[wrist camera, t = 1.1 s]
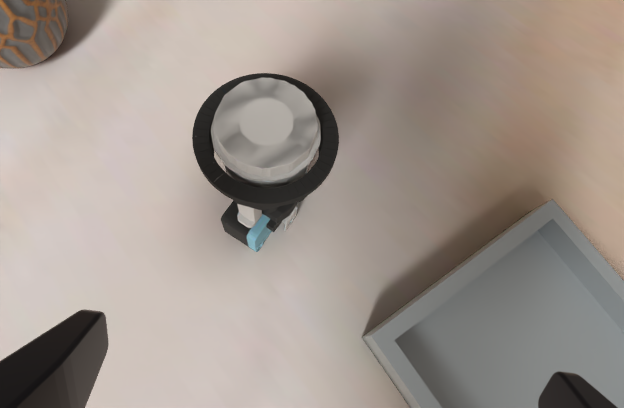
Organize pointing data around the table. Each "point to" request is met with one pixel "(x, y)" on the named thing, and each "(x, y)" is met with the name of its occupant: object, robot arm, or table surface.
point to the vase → (30, 31)
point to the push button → (264, 150)
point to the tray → (510, 322)
